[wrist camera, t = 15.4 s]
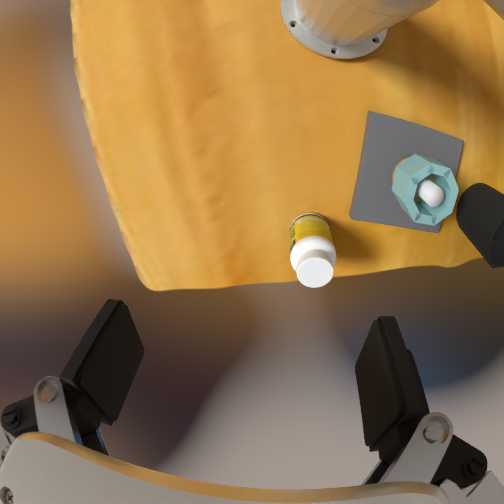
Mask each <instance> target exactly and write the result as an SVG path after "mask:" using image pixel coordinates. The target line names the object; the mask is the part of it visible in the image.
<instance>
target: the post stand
mask: <svg viewBox="0 0 504 504" xmlns="http://www.w3.org/2000/svg"><path fill="white" fill-rule="evenodd" d="M463 142H464V141H463V140H461V139H458V138H455V137H453V136H450V135H448V134H445V133H442V132H439V131H437V130H434V129H431V128H428V127H425V126H422V125H419V124H415V123H412V122H409V121H405V120H402V119H398V118H395V117H391V116H387V115H383V114H379V113H375V112H371V111H368V115H367V122H366V129H365V135H364V141H363V147H362V153H361V159H360V165H359V170H358V175H357V180H356V185H355V190H354V195H353V200H352V204H351V209H350V213H349V215H350V217H351V219H352V220H358V221H365V222H372V223H379V224H385V225H392V226H398V227H404V228H410V229H416V230H422V231H427V232H433V233H438V231H439V229H440V226H441V223H442V220H441V221H440V222H439V223H437V224H436V225H434V226H432V225H427V224H422V223H416V222H414V221H413V220H412V219H411V218H410V217H409V215H408V214H407V213H406V212H405V211H404V210H403V209H402V207H401V205H400V204H399V202H398V200H397V198H396V196H395V195H394V193H393V191H392V190H391V189H392V185H393V180H394V176H395V172H396V167H397V166H398V165H399V164H401V163H402V162H404V161H405V160H406V159H408V158H409V157H411V156H412V155H413V154H418V155H422V156H425V157H429V158H432V159H435V160H437V161H438V162H440V163H442V164H444V165H445V166H447V167H449V168H450V169H451V171H452V173H453V176H454V178H455V177H456V173H457V169H458V165H459V160H460V156H461V151H462V147H463ZM443 198H444V193H443V190H442V189H441V188H440V187H438V186H437V185H436V184H435V178H434V175H433V173H431V174H430V175H428V176H427V177H425V178H424V179H423V180H421V181H420V182H418V184H417V188H416V192H415V196H414V199H413V200H414V202H419V203H420V202H422V201H423V200H424V201H425V202H426V203H427V204H428V205H429V206H431V207H437V206H439V205H440V204H441V203H442V201H443Z"/></svg>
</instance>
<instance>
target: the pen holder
mask: <svg viewBox="0 0 504 504" xmlns="http://www.w3.org/2000/svg"><path fill="white" fill-rule="evenodd" d="M457 222H458V225H459V227H460V229H461V230H462V231H463V233H464V234H465V235H466V236H467V237H468V239H469V240H470V241H471V242H472V243H473V245H474V246H475V247H476V248H477V250H478V251H479V252H480V253H481V255H482V256H483V257H484V258H485V260H486V261H487V262H488V264H489V265H490V266H491V267H492V268H497V267H504V195H503V194H502V193H500V192H499V191H497V190H495V189H493V188H492V187H490V186H488V185H486V184H483V183H477V184H474V185H472V186H470V187H469V188H468V189H467V190H466V191H465V192H464V193H463V195H462V196H461V198H460V200H459V203H458V207H457Z"/></svg>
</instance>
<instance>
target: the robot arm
mask: <svg viewBox="0 0 504 504" xmlns="http://www.w3.org/2000/svg"><path fill="white" fill-rule="evenodd" d="M438 1H439V0H281V15H282V19H283V21H284V24H285V26H286V28H287V29H288V31H289V32H290V34H291V35H292V36H293V37H294V38H295V39H296V40H297V41H298V42H299V43H301V44H302V45H303V46H304V47H306V48H308V49H309V50H311V51H313V52H315V53H317V54H320V55H323V56H325V57H330V58H334V59H354V58H358V57H362V56H365V55H367V54H369V53H371V52H372V51H374V50H376V49H377V48H378V47H379V46H380V45H381V44H382V43H383V41H384V39H385V37H386V35H387V31H388V28H389V27H391V26H393V25H395V24H397V23H399V22H401V21H403V20H405V19H407V18H409V17H411V16H413V15H415V14H417V13H419V12H422V11H424V10H426V9H428V8H430V7H431V6H433V5H434V4H436V3H437V2H438ZM483 1H485V2H486V3H487V4H488V5H489V6H490V7H491V8H492V9H493V10H494V11H495V12H496V13H497V14H498V15H499V16H500V17H501V18H502V19H503V20H504V0H483ZM291 24H294V25H295V27H291ZM373 39H374V40H375V43H374V42H373ZM332 50H334V51H335V54H333V53H331V51H332ZM143 356H144V347H143V345H142V343H141V340H140V338H139V335H138V332H137V330H136V327H135V325H134V323H133V320H132V317H131V315H130V312H129V310H128V307H127V305H125V304H124V302H123V301H121V300H114V299H109V300H107V301H106V303H105V304H104V306H103V307H102V309H101V310H100V312H99V313H98V315H97V316H96V318H95V319H94V321H93V322H92V324H91V326H90V327H89V329H88V330H87V332H86V334H85V335H84V337H83V338H82V340H81V341H80V343H79V345H78V346H77V348H76V350H75V351H74V353H73V355H72V356H71V358H70V360H69V361H68V363H67V365H66V367H65V368H64V370H63V372H62V374H61V376H60V377H61V378H60V380H59V379H57V378H55V377H45V378H43V379H41V380H40V381H39V382H38V383H37V385H36V386H35V389H34V395H33V396H30V397H27V398H25V399H23V400H20V401H18V402H15V403H13V404H10V405H8V406H7V407H6V408H5V409H4V410H3V412H2V415H1V421H0V504H504V486H503V485H502V484H501V482H500V481H499V480H498V479H497V477H496V476H495V475H494V473H493V472H492V471H491V470H490V471H487V459H486V456H485V455H484V454H483V453H482V452H481V451H479V450H478V449H476V448H475V447H473V446H471V445H470V444H468V443H466V442H465V441H463V440H462V439H460V438H458V437H457V436H455V435H453V426H452V423H451V421H450V420H449V418H448V417H447V416H445V415H444V414H442V413H439V412H433V413H430V412H429V408H428V404H427V401H426V397H425V393H424V390H423V386H422V383H421V380H420V377H419V373H418V370H417V367H416V364H415V361H414V358H413V355H412V353H411V351H410V350H409V349H406V346H405V343H404V340H403V338H402V335H401V332H400V329H399V327H398V324H397V321H396V319H395V317H394V316H380V317H378V319H377V320H374V321H373V323H372V326H371V328H370V331H369V334H368V336H367V338H366V341H365V343H364V346H363V348H362V351H361V353H360V355H359V358H358V360H357V362H356V366H355V373H356V379H357V385H358V392H359V399H360V405H361V414H362V422H363V430H364V439H365V444H366V446H369V448H370V452H371V451H379V459H380V460H379V462H378V463H377V464H376V466H375V467H374V469H373V470H372V471H371V473H370V474H369V475H368V477H367V478H366V479H365V481H364V482H363V483H362V484H361V485H360V486H352V487H341V488H326V489H304V490H281V489H257V488H246V487H236V486H227V485H220V484H212V483H207V482H201V481H196V480H191V479H186V478H180V477H176V476H172V475H168V474H164V473H160V472H157V471H153V470H149V469H146V468H143V467H139V466H136V465H133V464H130V463H127V462H124V461H121V460H118V459H116V458H113V457H110V456H109V454H108V451H107V448H106V446H105V443H104V440H103V438H102V435H101V432H100V430H99V426H100V423H101V422H102V423H105V424H108V425H111V426H112V424H113V421H116V420H117V419H118V416H119V414H120V411H121V409H122V406H123V404H124V401H125V399H126V396H127V394H128V391H129V389H130V387H131V384H132V382H133V379H134V377H135V374H136V372H137V370H138V367H139V365H140V363H141V361H142V358H143Z"/></svg>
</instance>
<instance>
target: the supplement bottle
mask: <svg viewBox="0 0 504 504" xmlns="http://www.w3.org/2000/svg"><path fill="white" fill-rule="evenodd" d="M290 260H291V264H292V267H293V268H294V270H295V271H296V272H297V277H298V279H299V281H300V282H301V283H302V284H303V285H305V286H308V287H321V286H323V285H325V284H327V283H328V282H329V281H330V280H331V279H332V277H333V273H334V269H333V267H334V265H335V262H336V250H335V246H334V243H333V239H332V235H331V232H330V228H329V225H328V223H327V221H326V220H325V219H324V218H323V217H322V216H320V215H318V214H315V213H305V214H302V215H300V216H298V217H297V218H296V219H295V220H294V221H293V222H292V224H291V227H290Z"/></svg>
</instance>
